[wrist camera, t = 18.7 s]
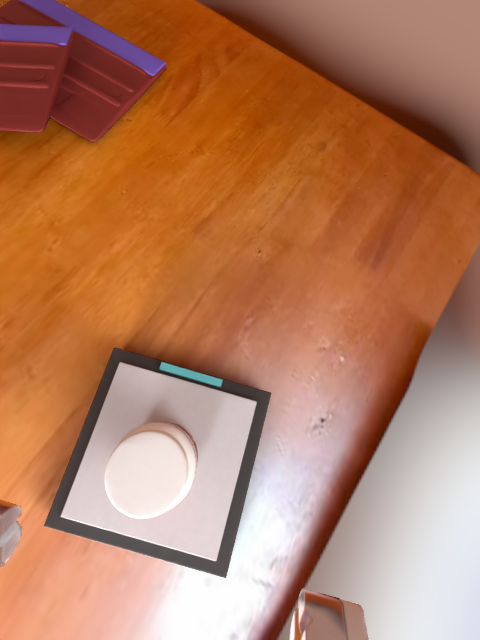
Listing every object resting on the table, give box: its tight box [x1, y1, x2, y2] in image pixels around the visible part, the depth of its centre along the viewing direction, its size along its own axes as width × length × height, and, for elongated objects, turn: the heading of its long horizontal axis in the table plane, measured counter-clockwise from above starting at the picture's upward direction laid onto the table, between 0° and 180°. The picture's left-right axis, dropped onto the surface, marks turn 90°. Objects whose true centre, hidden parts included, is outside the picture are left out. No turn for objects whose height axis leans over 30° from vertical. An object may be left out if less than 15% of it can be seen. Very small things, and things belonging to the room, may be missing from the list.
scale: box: [44, 348, 271, 578], centre depth 26 cm, size 13×13×3 cm
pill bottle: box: [105, 422, 198, 518], centre depth 21 cm, size 5×5×8 cm
